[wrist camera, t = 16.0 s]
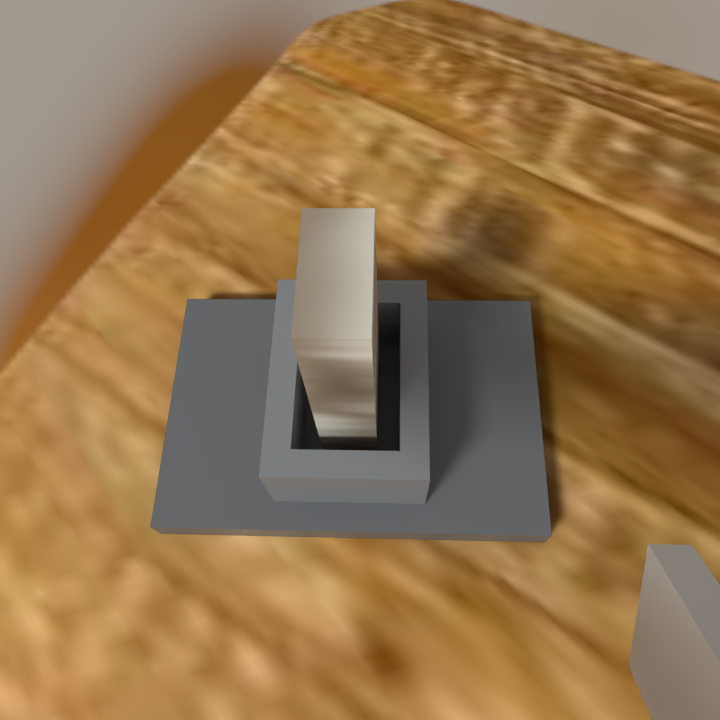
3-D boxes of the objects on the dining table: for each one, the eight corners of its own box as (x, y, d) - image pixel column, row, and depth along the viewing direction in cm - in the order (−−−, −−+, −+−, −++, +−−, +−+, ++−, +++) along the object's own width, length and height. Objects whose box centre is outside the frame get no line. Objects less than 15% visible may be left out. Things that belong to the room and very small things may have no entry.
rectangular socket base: (524, 315, 36) (546, 256, 31) (544, 542, 31) (574, 515, 26) (194, 313, 37) (164, 255, 32) (160, 533, 32) (118, 506, 27)
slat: (379, 360, 34) (375, 208, 23) (377, 456, 31) (371, 339, 21) (329, 359, 34) (301, 208, 23) (324, 455, 32) (290, 338, 21)
